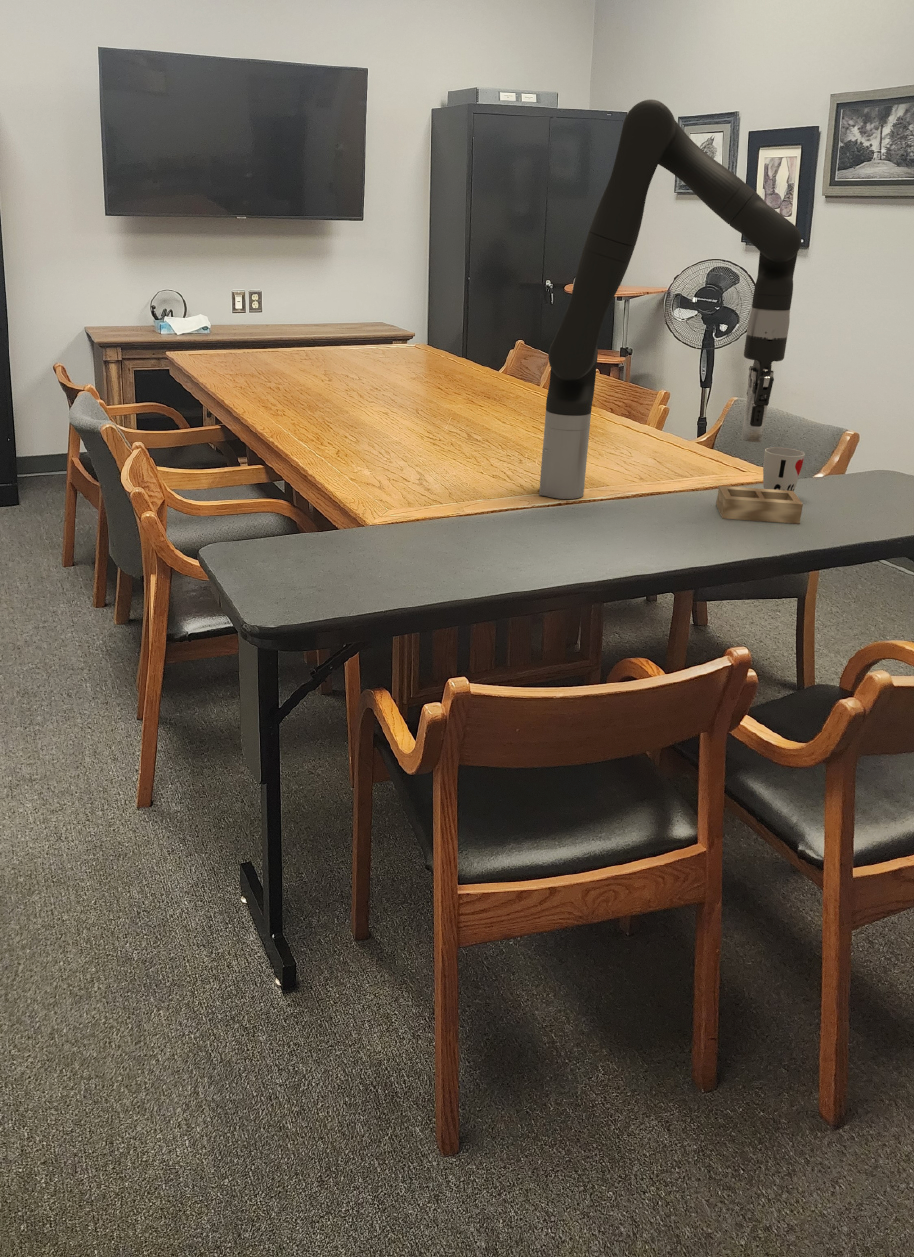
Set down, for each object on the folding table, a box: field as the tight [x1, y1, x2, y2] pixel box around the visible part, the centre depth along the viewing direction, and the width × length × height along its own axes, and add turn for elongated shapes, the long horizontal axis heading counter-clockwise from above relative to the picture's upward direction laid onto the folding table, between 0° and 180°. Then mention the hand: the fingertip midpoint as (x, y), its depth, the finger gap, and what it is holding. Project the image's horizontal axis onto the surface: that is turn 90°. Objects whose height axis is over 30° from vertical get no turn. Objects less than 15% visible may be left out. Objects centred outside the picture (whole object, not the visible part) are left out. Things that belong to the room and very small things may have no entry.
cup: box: [762, 447, 806, 492], centre depth 224 cm, size 8×8×10 cm
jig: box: [715, 485, 804, 525], centre depth 213 cm, size 15×10×4 cm, turn 85°
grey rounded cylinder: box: [740, 387, 768, 443], centre depth 206 cm, size 4×4×10 cm
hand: (753, 423), depth 207 cm, fingers closed on grey rounded cylinder, 4 cm apart
